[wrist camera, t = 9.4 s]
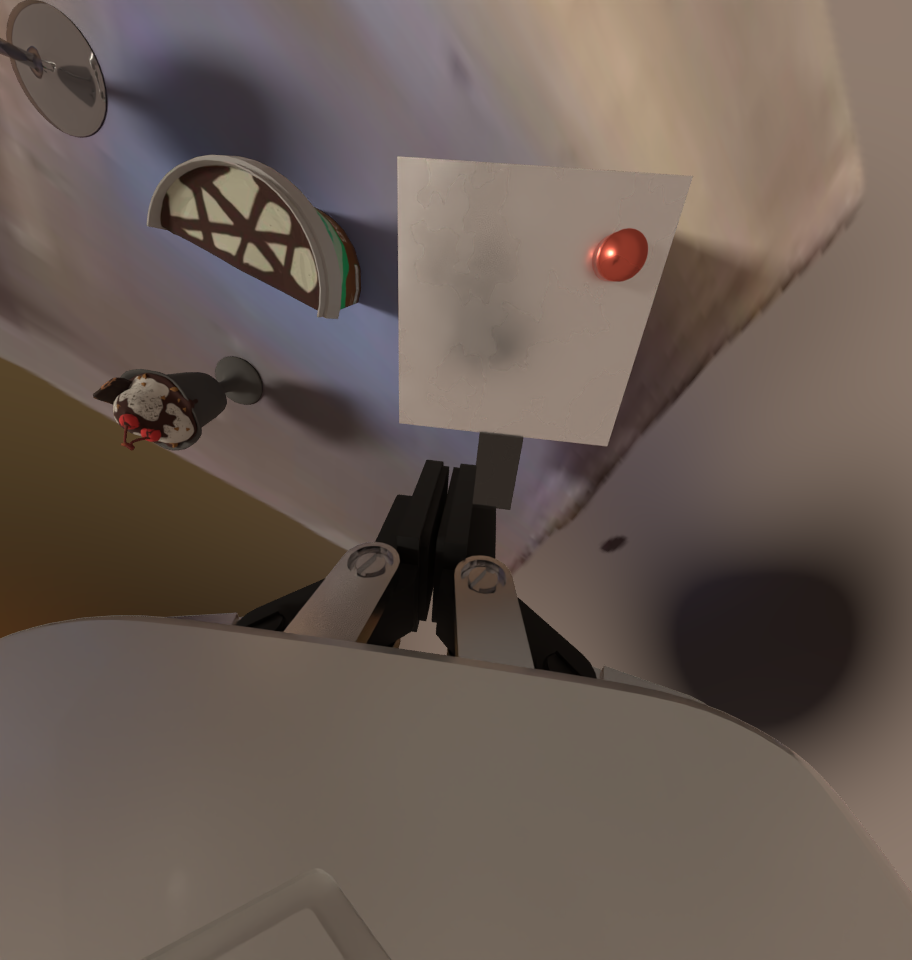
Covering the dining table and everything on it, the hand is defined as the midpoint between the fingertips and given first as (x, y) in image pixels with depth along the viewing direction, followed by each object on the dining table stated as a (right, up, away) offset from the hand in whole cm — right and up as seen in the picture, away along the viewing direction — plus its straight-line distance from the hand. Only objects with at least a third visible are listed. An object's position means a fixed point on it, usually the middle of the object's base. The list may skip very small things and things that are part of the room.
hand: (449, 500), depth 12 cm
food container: (-11, +21, +18) cm, 30 cm away
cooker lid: (+4, +8, +11) cm, 14 cm away
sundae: (-22, +11, +25) cm, 35 cm away
